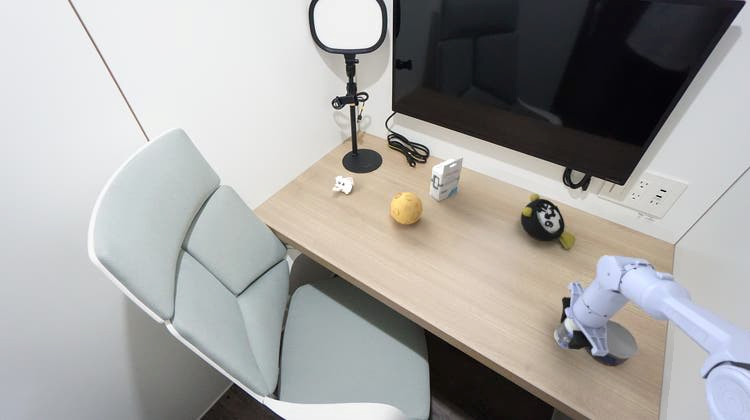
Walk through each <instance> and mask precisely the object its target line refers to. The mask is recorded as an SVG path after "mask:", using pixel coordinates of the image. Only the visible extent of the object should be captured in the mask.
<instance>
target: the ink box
mask: <svg viewBox="0 0 750 420" xmlns="http://www.w3.org/2000/svg"><path fill="white" fill-rule="evenodd" d="M463 160H464V157H460V158H457V159H456V160H455V159H454V158H449V159H448V160H445V161H442V162H441V163H439V164H435V165H434V166H432V170H431V179H430V187H429V195H430V197H432V198H433V199H435V200H436V201H437V202H441V201H442V200H445V199H446V198H449V197H450V196H452V195H454V194H456V193H457V191H458V186H459V182H460V177H461V173H462V168H463Z"/></svg>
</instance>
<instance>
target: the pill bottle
mask: <svg viewBox="0 0 750 420" xmlns="http://www.w3.org/2000/svg"><path fill="white" fill-rule="evenodd" d="M573 330H577V331H582V330H581V329H580V328H579V326H578V325H577V324H576V322H575V321H574V320H573V319H569V318H568V317H567V318H566V319H565V320H564V321H563V323H562V324H561V323H560V325H559V326H558V327H557V328H556V329H555V331H554V333H553V334H554V335H553V337H554V340H555V341H556V343H557V344H558V345H559V347H562V348H563V349H565V350H570V349H569V347H568V343H569V342H570V341H571V339H572V337H573Z"/></svg>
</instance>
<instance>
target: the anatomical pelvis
mask: <svg viewBox="0 0 750 420" xmlns="http://www.w3.org/2000/svg"><path fill="white" fill-rule="evenodd" d="M353 179H354V178H353V177H343V176H342V175H338V176H336V177H335V183H336V184H335V187H333V188H332V191H333V192H334V191H336V192H340V191H341V192H343V193H345V194H346V195H348V194H350V193H351V191H352V188H353V186H354V180H353Z"/></svg>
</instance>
